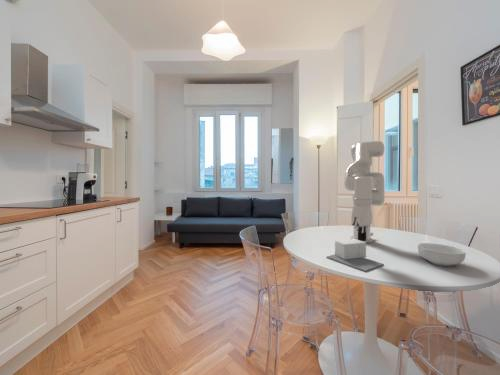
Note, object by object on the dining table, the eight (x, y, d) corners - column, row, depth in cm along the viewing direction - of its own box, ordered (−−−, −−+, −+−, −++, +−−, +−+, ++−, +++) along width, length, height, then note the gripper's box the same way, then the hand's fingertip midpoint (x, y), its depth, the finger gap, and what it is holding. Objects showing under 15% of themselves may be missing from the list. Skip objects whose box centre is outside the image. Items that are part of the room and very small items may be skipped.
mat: (344, 252, 120) (344, 251, 120) (383, 265, 103) (383, 263, 103) (326, 257, 113) (326, 256, 113) (365, 271, 96) (365, 270, 96)
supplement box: (355, 238, 119) (334, 240, 115) (366, 242, 112) (344, 244, 108) (355, 252, 119) (334, 254, 115) (366, 257, 112) (344, 260, 108)
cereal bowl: (475, 271, 96) (476, 255, 96) (430, 268, 100) (430, 252, 99) (449, 257, 113) (449, 243, 113) (411, 255, 116) (411, 241, 116)
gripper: (364, 200, 117) (363, 236, 118) (345, 202, 109) (345, 240, 110) (379, 202, 111) (378, 239, 112) (360, 204, 103) (359, 244, 104)
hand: (361, 240), depth 111 cm, fingers closed
